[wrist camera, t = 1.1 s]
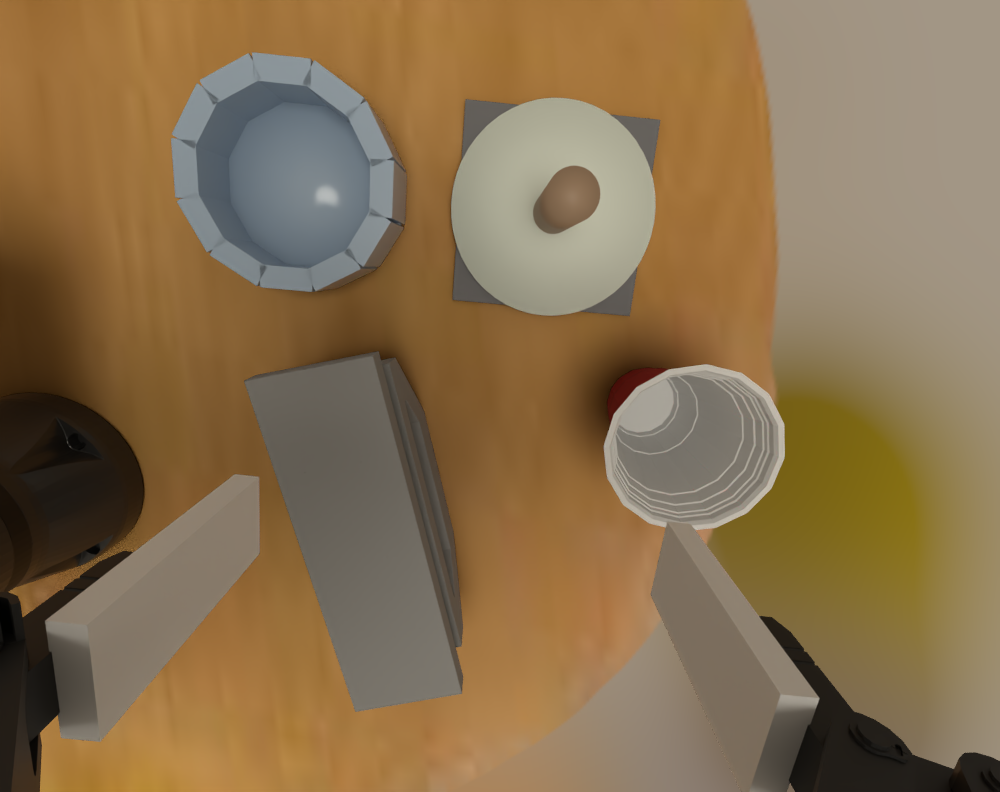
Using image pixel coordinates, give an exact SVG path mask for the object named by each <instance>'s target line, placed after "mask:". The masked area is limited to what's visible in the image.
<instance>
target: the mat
mask: <svg viewBox="0 0 1000 792" xmlns="http://www.w3.org/2000/svg"><path fill="white" fill-rule="evenodd" d="M516 106H518V105H515V104H505V103H496V102H486V101H477V100H468V99H466V101H465V117H464V132H463V148H462V159H463V157H464V156H465V154H466V152H467V150H468V148H469V147H470V145H471V144H472V143H473V141H474V140H475V138H476V137H477V136H478V135H479V134H480V132H481V131H482V130H483V129H484V128H485V127H486V126H487V125H488V124H489V123H491V122H492V121H493V120H494V119H496V118H497V117H498V116H500V115H501V114H503V113H505V112H506V111H508V110H510V109H511V108H514V107H516ZM611 116H613V117H614V118H615V119H617V120H618V121H619V122H620V123H621V124H622V125H623V126H624V127H625V128H626V129H627V130H628V131H629V132H630V133H631V135H632V136H633V137H634V138H635V140H636V141H637V143H638V144H639V146H640V148H641V149H642V151H643V153H644V155H645V157H646V160H647V162H648V165H649V167H650V171H651V174H652V170H653V163H654V157H655V151H656V144H657V138H658V131H659V125H660V120H655V119H646V118H637V117H627V116H618V115H611ZM636 272H637V267H636V269H635V270H634V272H633V273H632V275H631V276H630V277H629V278H628V279H627V280H626V282H625V283H624V284H623V285H622V286H621V287H620V288H619V289H617V290H616V291H615V292H614V293H613V294H611V295H610V296H609V297H607V298H606V299H604V300H603V301H601V302H599V303H597V304H596V305H594V306H592V307H589V308H587V309H584V310H582V311H581V312H592V313H603V314H614V315H625V316H630V310H631V304H632V298H633V291H634V285H635V279H636ZM453 300H460V301H471V302H482V303H493V304H504V303H503V302H501V301H499V300H498V299H496V298H495V297H493V296H492V295H491V294H490V293H488V292H487V291H486V290H485V289H484V288H483V287H482V286H481V285H480V284H479V283H478V282H477V281H476V280H475V278H474V277H473V275H472V274H471V273H470V271H469V270H468V268H467V266H466V265H465V263H464V261H463V259H462V257H461V255H460V252H459V250H458V247H457V244H456V256H455V271H454V287H453ZM504 305H506V304H504Z"/></svg>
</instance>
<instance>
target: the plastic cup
mask: <svg viewBox="0 0 1000 792" xmlns="http://www.w3.org/2000/svg"><path fill="white" fill-rule="evenodd" d="M607 407H608V416H609V421H610V428H609V431H608V434H607V437H606V440H605V443H604V454H605V463H606V472H607V478H608V480H609V482H610V484H611V485H612V487H613V489H614V490H615V492H616V494H617V495H618V497H619V499H620V500H621V502H622V504H623V505H624V506H626V507H627V508H628V509H630V510H631V511H633V512H634V513H635V514H637V515H638V516H640V517H641V518H642V519H644V520H645V521H647V522H648V523H650V524H654V525H658V526H662V527H666V525H667V521H668V522H677V523H686V524H691V525H692V527H693V528H694V529H695V530H699V529H709V528H716V527H718V526H720V525H722V524H725V523H727V522H729V521H731V520H733V519H735V518H737V517H739V516H742V515H744V514H746V513H747V512H748V511H749V510H750V509H751V508H752V507H753V506H754V505H755V504H756V503H757V502H758V501H759V500H760V499H761V498H762V497H763V496H764V495H765V494H766V493H767V492H768V491H769V490H770V489H771V488H772V486H773V483H774V481H775V479H776V476H777V474H778V472H779V469H780V467H781V465H782V462H783V460H784V458H785V446H784V423H783V421H782V419H781V417H780V415H779V413H778V411H777V409H776V407H775V405H774V403H773V401H772V399H771V397H770V395H769V394H768V393H767V392H766V391H764V390H763V389H762V388H760V387H759V386H758V385H757V384H755V383H754V382H753V381H751V380H750V379H749V378H748V377H746V376H745V375H744V374H742V373H740V372H736V371H732V370H728V369H724V368H720V367H716V366H712V365H708V364H704V365H697V366H690V367H682V368H675V369H663V368H657V369H654V368H642V369H635V370H632V371H630V372H628V373H627V374H625V375H623V376H621V377H620V378H619V379H618V380H617V382H616V383H615V384H614V385H613V387H612V388H611V391H610V394H609V398H608V401H607Z"/></svg>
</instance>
